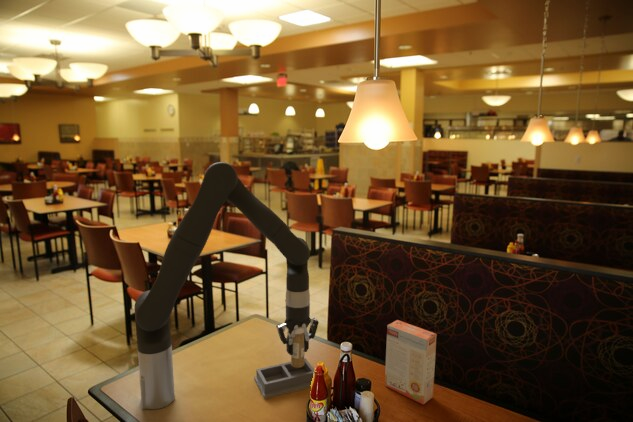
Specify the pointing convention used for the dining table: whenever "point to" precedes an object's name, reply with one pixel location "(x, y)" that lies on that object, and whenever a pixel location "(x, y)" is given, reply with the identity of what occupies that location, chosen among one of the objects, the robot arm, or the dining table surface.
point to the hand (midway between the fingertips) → (297, 352)
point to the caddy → (283, 379)
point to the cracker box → (410, 361)
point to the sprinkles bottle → (298, 349)
